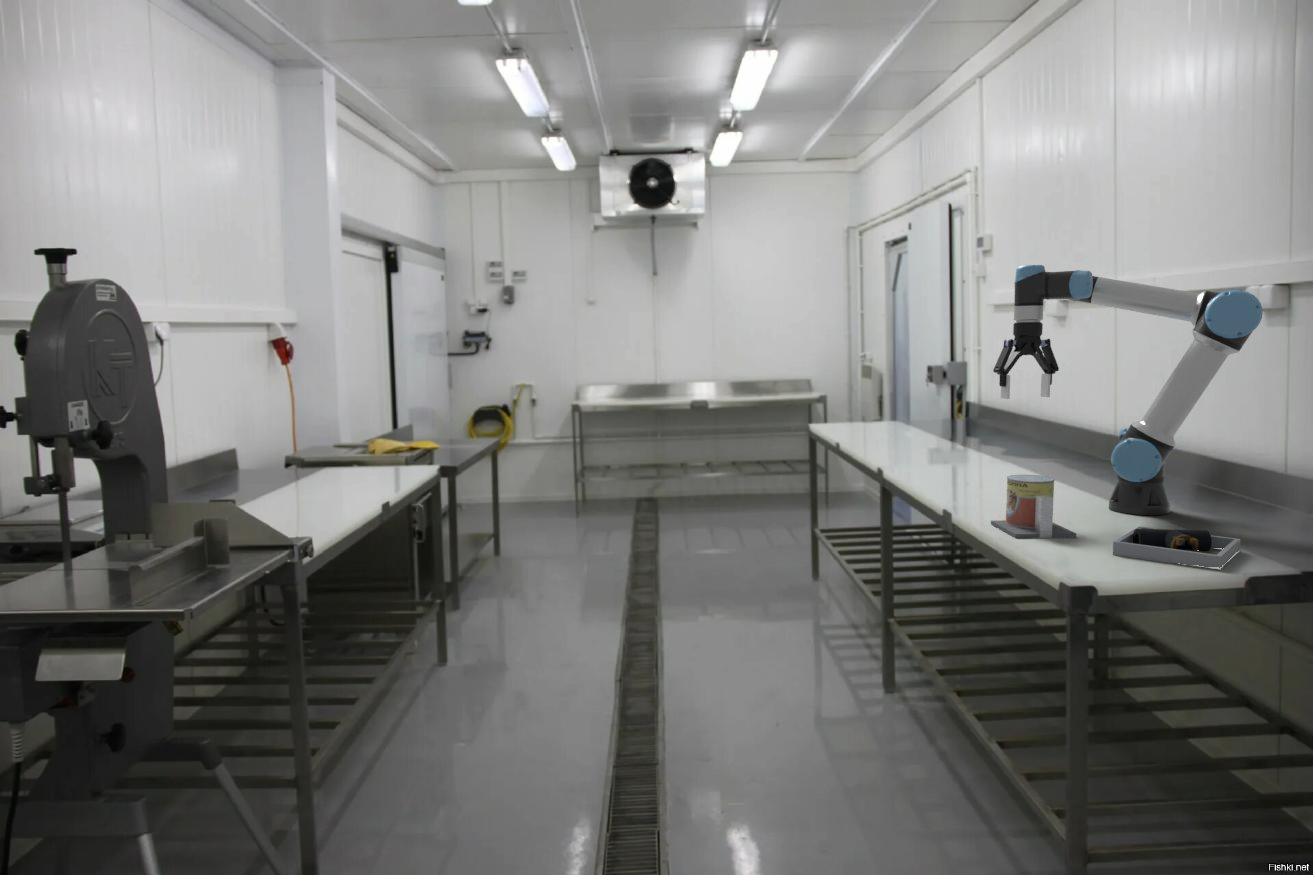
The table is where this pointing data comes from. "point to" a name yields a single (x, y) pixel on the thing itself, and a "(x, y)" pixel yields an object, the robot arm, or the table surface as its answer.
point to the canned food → (1025, 498)
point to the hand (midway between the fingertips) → (1025, 397)
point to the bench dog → (1044, 515)
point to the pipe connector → (1174, 539)
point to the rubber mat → (1032, 531)
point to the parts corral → (1177, 551)
